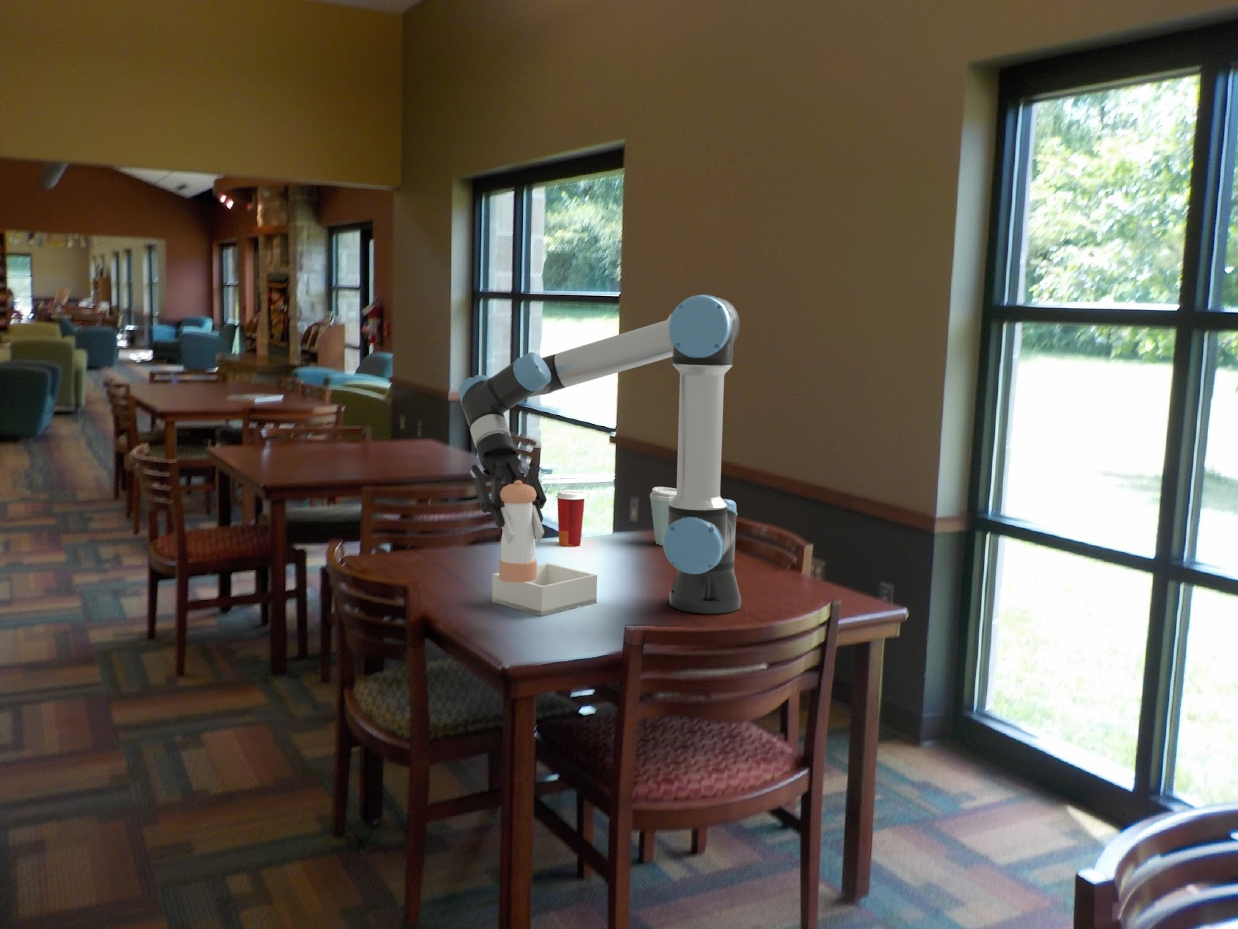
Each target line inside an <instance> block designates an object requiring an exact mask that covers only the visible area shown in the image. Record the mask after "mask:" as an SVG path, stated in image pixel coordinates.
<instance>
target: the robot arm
mask: <svg viewBox="0 0 1238 929" xmlns="http://www.w3.org/2000/svg"><path fill="white" fill-rule="evenodd" d="M739 317H740V316H739V314H738V312H737V310H736V309H735V307H734V305H733V304H732V303H730V302H729V301H728V300H726V299H725V298H722V297H719V296H714V295H710V294H697V295H696V294H695V295H692V296H690V297H687V298H686V299H683V301H682V302H681V303H679V304H678V305H677V306H676V307H675V308H674V310H673V312H672V313H670V314H669V316H668V318H667V319H665V320H663V321H659V322H656V323H653V324H650V325H646V326H643V327H639V328H636V329H634V330H629V331H626V332H623V333H620V334H617V335H613V336H610V337H606V338H604V339H600V340H596V341H593V342H590V343H586V344H584V345H580V346H577V347H574V348H570V349H568V350H564V351H560V352H558V353H554V354H550V355H547V356H545V357H541V356H540V355H539V354H537V353H536V352H533V351H531V352H527V353H526V354H524V355H523V356H521V357H518V358H517V359H515V361H513V362H512V363H510V364H509V365H507V366H505V368H503V369H502V370H500V371H499V372H497V373H496V374H495V375H493V376H491V377H488V376H487V375H485V374H484V375H483V374H477V375H476V374H475V376H473V377H471V376H470V377H468V378H466V379H465V380H464V381H463V382H462V383H461V384H460V386H459V388H458V396H459V399H460V405H461V408H462V412H464V416H465V420H466V422H467V425H468V428H469V431H470V434H471V439H472V440H473V445H474V448H475V449H476V454H477V457H478V460H479V463H480V464H479V465H477V464H472V466H471V467H470V468H471V469H470V471H469V473H468V476H469V477H470V478H471V480H472V481H473V483H474V486H475V490H476V491H475V492H476V494H477V498H478V503H479V505H480V509H481V512H483V514H484V513H485V514H486V513H490V516H491V517H492V518H494V522H495V524H496V527H498V528H501V529H502V532H503V533H504V536H505V539H506V542H507V543H511V541H512V539H513V537H514V532H513V529H512V526H511V523H510V520H509V517H508V514H507V511H506V508H505V507H504V506H503V507H502V500H501V497H500V492H501V490H502V487H501V486H502V483H509V485H510V484H514V482H515V481H516V480H520V481H522V484H526V485H529V486H531V487H533V488H534V489H535V491H536V495H537V496H536V499H535V500H534V501H532V525H533V532H534V538H535V541H537V542H538V541H541V540H542V538H543V536H544V534H545V530H544V527H543V525H542V523H543V521H544V516H543V513H542V509H543V508H544V507H545V505H546V502H547V501H548V499H547V497H546V494H545V492H544V490H543V487H542V484H541V482H540V479H539V477H538V474H537V472H536V467H537V466H536V463H535V462H534V461H530V462H529V463H524V462H522V460H521V459H520V458H519V456H518V454H517V453H518V452H517V449H516V446H515V442H514V441H513V440H514V439H513V438H512V435H511V434H512V433H511V431H510V428H509V426H508V423H507V420H506V417H505V413H506V412H507V411H509V410H511V409H513V408H514V407H515V406H517V405H519V404H520V403H521V402H523V401H525V400H526V399H529V398H532V397H537V396H543V395H548V394H551V393H553V392H555V391H559V390H564V389H565V388H569V387H572V386H575V385H578V384H582V383H586V382H589V381H593V380H597V379H600V378H603V377H606V376H610V375H615V374H617V373H620V372H623V371H628V370H631V369H635V368H638V367H641V366H645V365H649V364H652V363H655V362H658V361H662V360H666V359H669V358H671V357H672V366H673V367H674V368H675V370H677V371H678V373H679V398H678V399H679V401H678V404H679V405H678V432H677V434H678V435H677V463H676V464H677V466H676V467H677V468H676V472H677V474H676V489H677V494H676V496H675V497H674V498H673V499H672V500H671V501H669V510H668V528H667V530H666V532H665V534H664V539H663V546H662V548H663V552H664V555H665V557H666V559H667V560H668V562H669V563H670V564H671V565H672V567H673V568H675V569H677V571H676V575H675V577H674V579H673V582H672V584H671V589H670V591H669V598H668V599H669V601H668V603H669V605H670V606H671V607H673V608H674V609H677V610H680V611H684V612H689V613H697V614H708V615H710V614H714V615H716V614H726V613H733V612H735V611H738V610H739V609H741V606H742V605H741V604H742V603H741V602H742V595H741V593H740V591H739V585H738V583H737V582H738V581H737V578H736V573H735V552H736V551H735V550H736V529H737V528H736V527H737V518H738V512H737V503H736V502H735V501H734V500H732V499H727V498H722V497H721V479H722V478H721V476H722V475H721V474H722V450H723V449H722V446H723V445H722V444H723V423H724V422H723V416H724V388H725V375H726V373H727V372H728V371H729V370H730V369H731V368H732V367H733V357H734V356H733V355H734V343H735V342H736V340H737V338H738V336H739V332H740V329H741V328H740V324H741V323H740V318H739ZM520 470H521V471H522V473H523V474H522V473H521V471H520ZM485 475H486V476H487V477H489V479H490V488H491V497H490V494H489V491H488V490H489V489H488V487H487V482H486V480H485V477H484V476H485ZM523 475H524V476H526V477H525V478H526V481H525V480H524V478H523Z"/></svg>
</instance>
